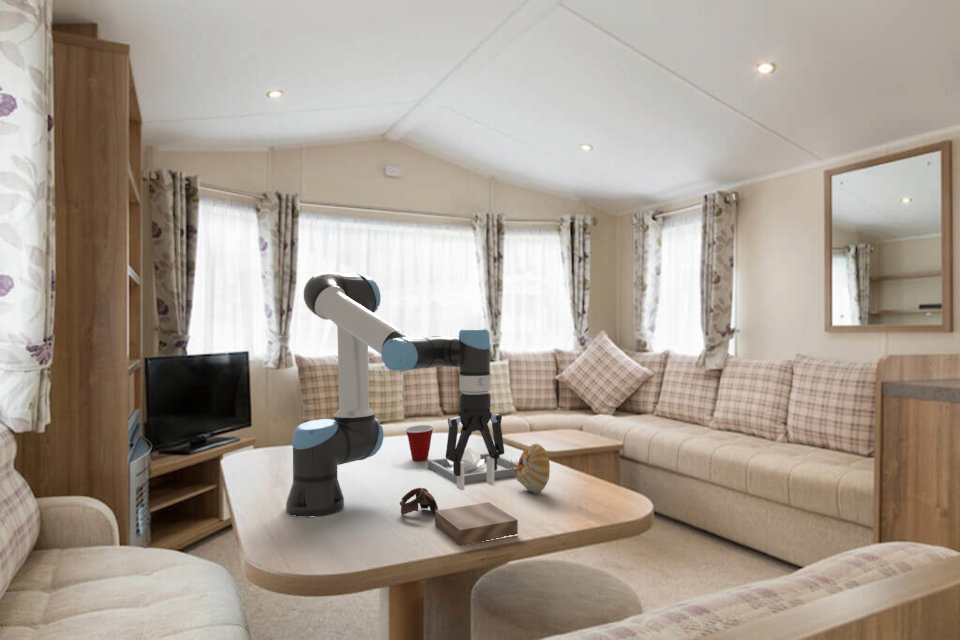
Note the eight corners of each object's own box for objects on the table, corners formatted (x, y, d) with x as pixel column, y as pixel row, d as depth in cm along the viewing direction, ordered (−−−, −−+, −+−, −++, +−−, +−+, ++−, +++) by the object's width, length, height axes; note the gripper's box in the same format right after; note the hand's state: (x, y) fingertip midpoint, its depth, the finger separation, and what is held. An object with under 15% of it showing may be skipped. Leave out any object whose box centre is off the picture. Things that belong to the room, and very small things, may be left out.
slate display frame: (457, 484, 186) (457, 476, 186) (428, 467, 207) (428, 460, 207) (526, 474, 197) (526, 467, 197) (491, 459, 219) (491, 452, 219)
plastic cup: (400, 457, 222) (400, 426, 222) (427, 454, 227) (427, 423, 227) (410, 464, 212) (410, 430, 212) (438, 460, 217) (438, 428, 217)
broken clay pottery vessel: (440, 523, 151) (425, 496, 149) (408, 537, 152) (392, 512, 150) (444, 498, 162) (429, 474, 161) (414, 512, 164) (399, 488, 162)
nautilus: (523, 480, 191) (523, 433, 191) (559, 498, 171) (558, 446, 171) (501, 482, 187) (501, 435, 187) (535, 501, 168) (535, 449, 168)
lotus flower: (435, 475, 197) (435, 449, 197) (462, 466, 209) (462, 442, 209) (469, 482, 188) (469, 455, 188) (496, 472, 200) (495, 447, 200)
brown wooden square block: (460, 552, 133) (459, 530, 133) (435, 530, 146) (435, 510, 146) (517, 540, 139) (517, 519, 139) (488, 521, 153) (488, 502, 153)
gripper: (442, 396, 135) (443, 496, 135) (518, 391, 144) (519, 484, 144) (430, 393, 141) (430, 488, 141) (503, 388, 151) (504, 477, 151)
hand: (475, 486), depth 143 cm, fingers open, 7 cm apart
